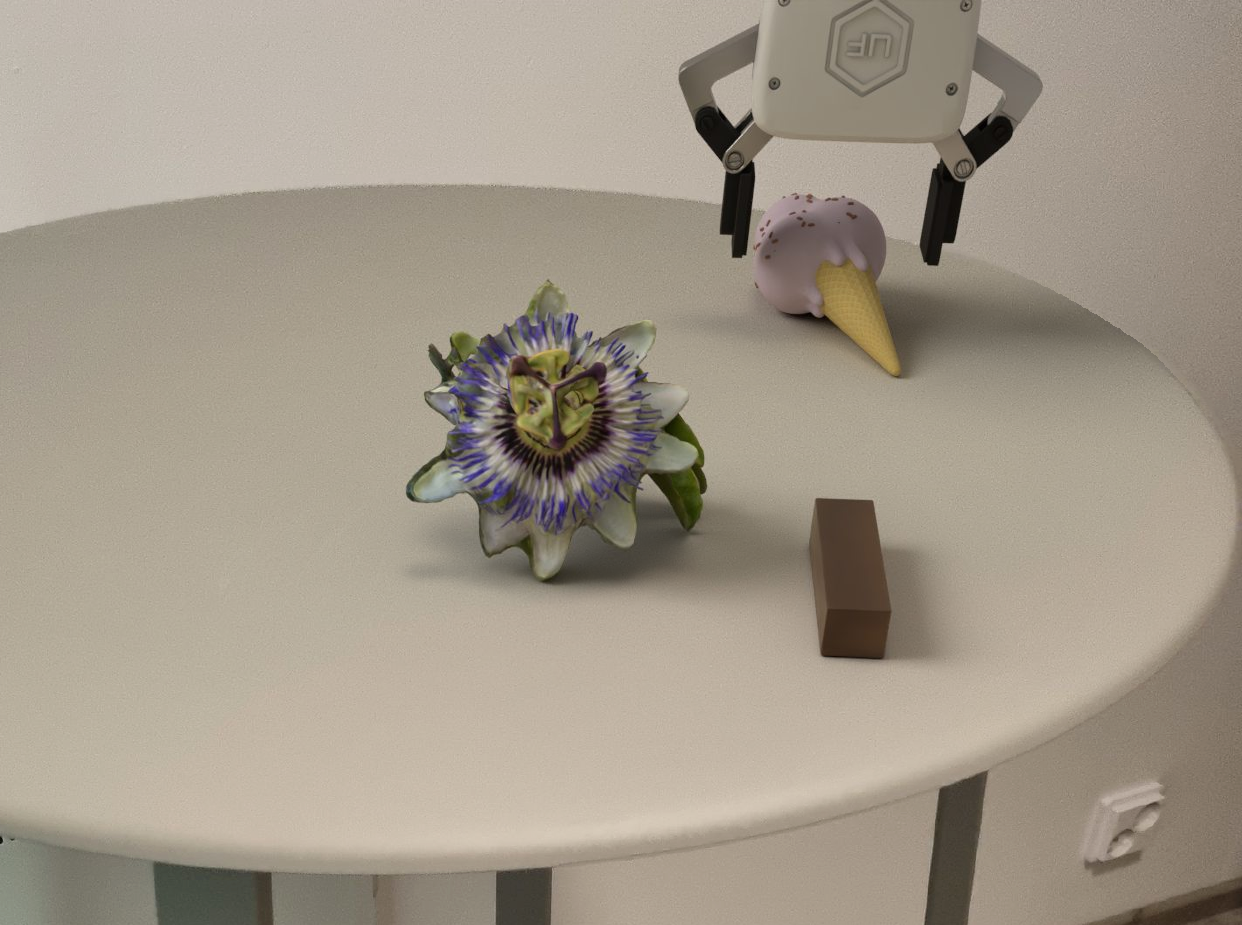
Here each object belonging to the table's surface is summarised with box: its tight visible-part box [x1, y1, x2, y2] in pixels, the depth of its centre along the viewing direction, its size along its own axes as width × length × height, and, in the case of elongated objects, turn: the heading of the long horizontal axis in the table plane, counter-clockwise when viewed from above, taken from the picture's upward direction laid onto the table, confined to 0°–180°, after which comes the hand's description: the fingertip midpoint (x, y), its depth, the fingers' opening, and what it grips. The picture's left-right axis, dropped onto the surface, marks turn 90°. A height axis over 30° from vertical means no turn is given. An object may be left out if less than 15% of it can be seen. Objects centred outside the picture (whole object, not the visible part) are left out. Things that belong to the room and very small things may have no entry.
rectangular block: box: [808, 497, 892, 659], centre depth 76 cm, size 2×10×2 cm, turn 173°
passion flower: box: [405, 278, 708, 582], centre depth 79 cm, size 11×11×12 cm
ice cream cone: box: [752, 192, 902, 377], centre depth 98 cm, size 6×7×15 cm
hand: (833, 253), depth 97 cm, fingers open, 9 cm apart
